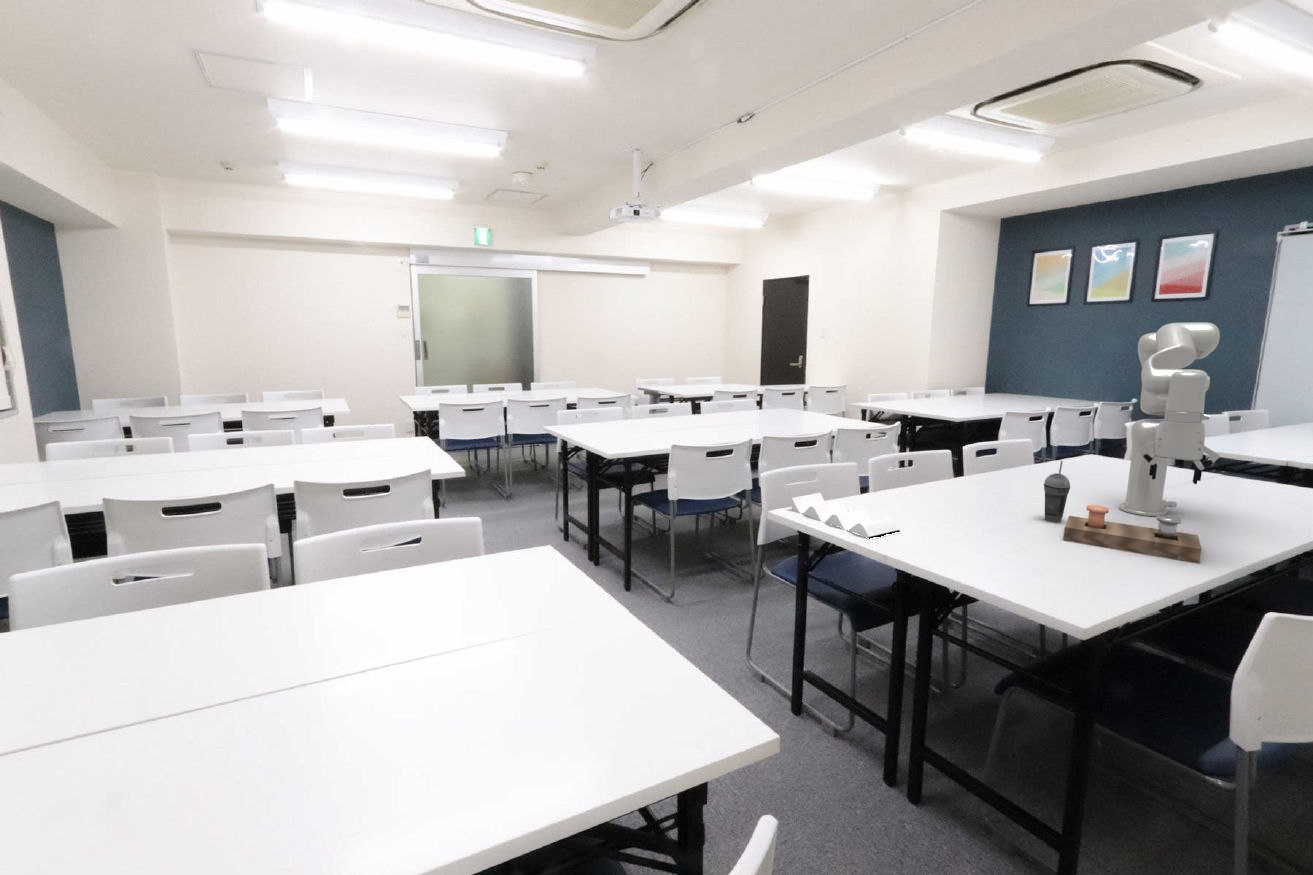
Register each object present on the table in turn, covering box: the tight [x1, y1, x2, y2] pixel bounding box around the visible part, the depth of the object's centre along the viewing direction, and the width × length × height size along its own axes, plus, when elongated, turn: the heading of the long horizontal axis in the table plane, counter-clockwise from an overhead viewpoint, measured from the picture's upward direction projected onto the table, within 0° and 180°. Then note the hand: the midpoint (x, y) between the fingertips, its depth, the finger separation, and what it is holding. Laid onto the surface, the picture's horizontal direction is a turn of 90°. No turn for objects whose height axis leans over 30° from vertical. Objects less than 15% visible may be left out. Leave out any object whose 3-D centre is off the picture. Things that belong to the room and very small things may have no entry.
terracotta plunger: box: [1086, 504, 1110, 529], centre depth 177 cm, size 5×5×6 cm
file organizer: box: [791, 492, 901, 540], centre depth 196 cm, size 13×35×5 cm, turn 29°
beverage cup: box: [1043, 460, 1071, 524], centre depth 193 cm, size 7×7×20 cm
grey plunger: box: [1155, 514, 1182, 540], centre depth 167 cm, size 5×5×6 cm
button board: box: [1062, 515, 1203, 564], centre depth 173 cm, size 30×14×4 cm, turn 52°
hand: (1173, 480), depth 165 cm, fingers open, 8 cm apart
